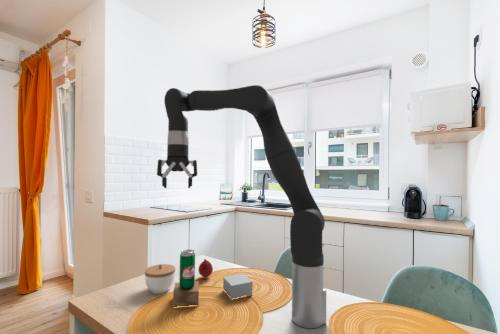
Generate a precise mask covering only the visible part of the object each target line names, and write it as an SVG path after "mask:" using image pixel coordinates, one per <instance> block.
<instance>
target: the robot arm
mask: <svg viewBox="0 0 500 334" xmlns="http://www.w3.org/2000/svg"><path fill="white" fill-rule="evenodd" d="M163 102H164V108H165V111H166V112H165V113H166V115H167V119H168V124H167V125H168V131H167V147H166V149H167V153H166V155H167V156H166V157H167V158H166V160H165V159H158V160H157V167H156V168H157V169H156V175H157V176H158V177H161V186H162V187H163V189H167V185H168V182H167V180H168V178H167V177H168V175H169V174H170V173H171V172H180V173H181V172H185V174H186V175H187V176H188V179H187V183H188V184H187V188H188V189H191V187H192V186H193V178H194V177H197V176H198V165H197V164H198V163H197V160H195V159H194V160H189V144H190V142H189V120H188V118H187V117H186V116H185V115H184V112H194V111H206V112H212V111H213V112H214V111H219V110H223V109H233V110H234V109H236V110H241V111H246V112H248V114H250V115H252V116H253V118H254V119H255V121H256V123H257V126H258V127H259V130H260V132H261V135H262V142H263V148H264V154H265V158H266V160H267V164H268V165H269V168H270V171H271V172H272V174H273V177H274V179H275V180H276V182H277V184H278V185H279V186H280V188H281V189H282V191H283V192H284V193H285V195H286V196H287V198H288V201H289V204H290V206H291V210H292V212H293V215H292V217H291V221H290V224H289V226H290V227H289V229H290V230H289V234H290V235H289V237H290V238H289V239H290V253H291V276H292V277H291V278H292V279H291V319H292V322H293V323H294V324H295V325H296V326H298V327H301V328H305V329H317V328H320V327H321V326H323V325H325V324H327V290H326V289H325V287H324V283H325V282H324V268H325V267H324V263H325V262H324V261H325V260H324V251H323V230H324V229H325V225H326V223H325V217H324V215H323V213H322V211H321V209H320V208H319V206H318V205H317V203H316V201H315V199H314V197H313V195H312V193H311V191H310V189H309V187H308V183H307V180H306V177H305V174H304V171H303V169H302V166H301V163H300V160H299V158H298V155H297V152H296V151H295V149H294V147H293V144H292V143H291V140H290V138H289V136H288V134H287V132H286V130H285V128H284V126H283V124H282V122H281V119H280V117H279V116H280V115H279V112H278V110H277V106H276V103H275V99H274V97H273V95H272V94H271V93H270V92H269V90H268V89H266V88H265V87H263V86H261V85H258V84H257V85H255V84H253V85H248V86H247V85H246V86H243V87H237V88H230V89H220V90H209V89H207V90H205V89H204V90H199V89H197V90H193V91H191V92H190V93H189V92H184V91H182V90H181V89H178V88H175V87H173V88H169V89H168V90H166V93H165V95H164V101H163ZM165 164H166V165H167V168H166V170H165V171H164V172H163V173H162V171H163V170H162V169H163V166H164V165H165ZM189 165H191V166H192V167H193V173H191V172H190V170H189V169H188V168H187V167H188V166H189Z"/></svg>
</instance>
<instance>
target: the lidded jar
mask: <svg viewBox="0 0 500 334" xmlns="http://www.w3.org/2000/svg"><path fill="white" fill-rule="evenodd" d="M175 275H176V266H174V265H173V264H167V263H166V264H165V263H163V264H162V263H160V264H156V265H150V266H148V267H146V269H145V271H144V280H145V285H146V287H147V289H148V290H149V291H150V292H151V293H153V294H156V295H157V294H163V293H166V292H167V291H169V289H170V288H171V287H172V286H173V283H174V281H175Z"/></svg>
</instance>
